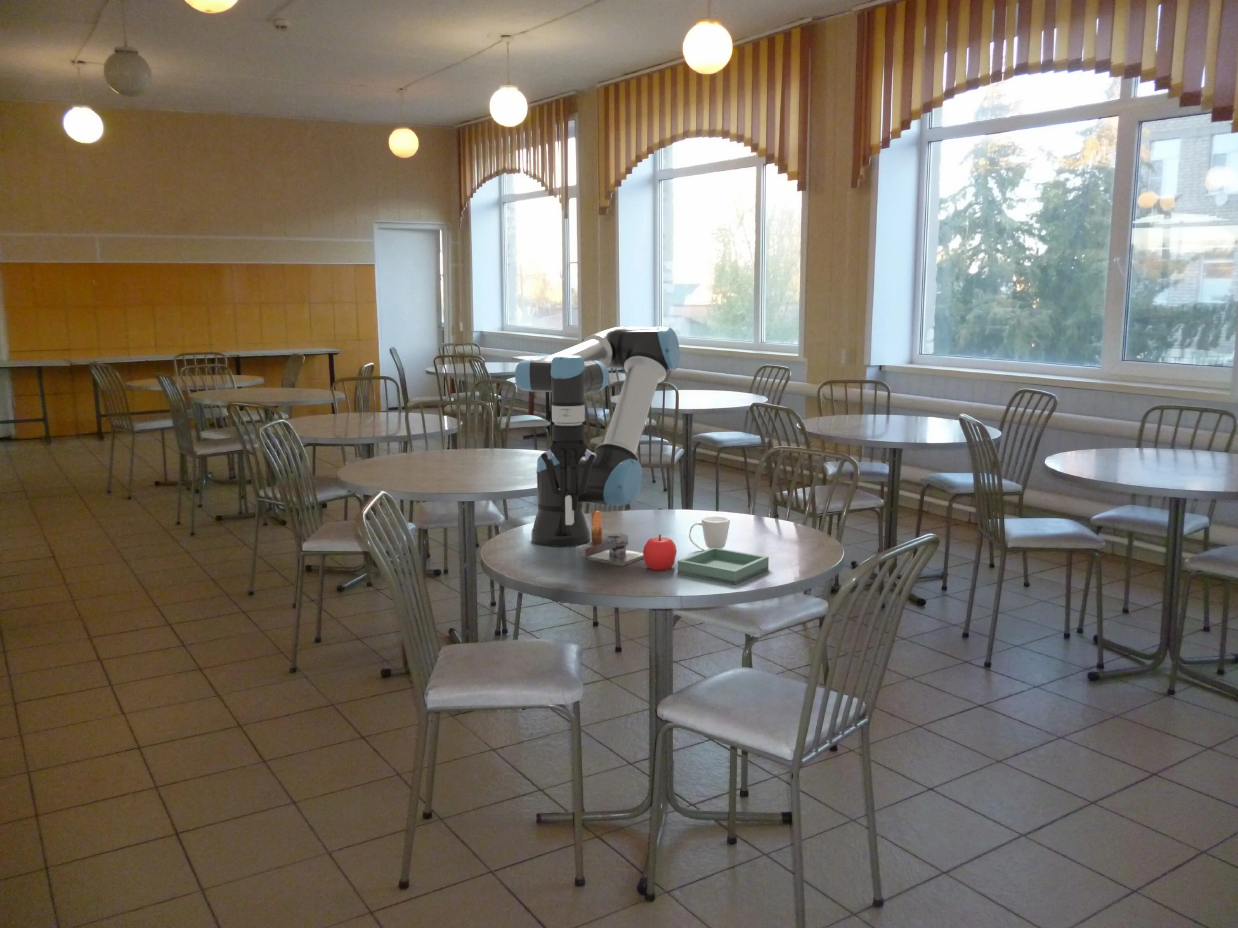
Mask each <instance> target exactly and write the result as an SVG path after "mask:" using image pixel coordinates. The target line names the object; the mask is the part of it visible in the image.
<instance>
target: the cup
mask: <svg viewBox="0 0 1238 928" xmlns="http://www.w3.org/2000/svg"><path fill="white" fill-rule="evenodd" d="M700 521H701V522H694V523H693V524H692V525H691V526H690V528H689V534H688V535H689V536H688V538H689V541H690V542H691V544H693V545H694V546H695V547H696V548H698V549H699V550H701V551H704V550H707V549H710V548H712V547H714V548H720V549H724V548H725V547H726V545H727V541H728V536H729V535H728V533H729V529H730V524H731V519H730V518H729V517H727V516H721V515H720V516H719V515H712V516H711V515H709V516H705V517H703V518H701V520H700ZM696 525H698V526H702V533H703V538H704V539H703V540H704V542H705V547H707V548H703V547H701V546H700V545H698V544H697V543H695V542H694V541H693V540H692V537H691V534H692V533H691V532H692V529H693V528H694V527H695V526H696Z"/></svg>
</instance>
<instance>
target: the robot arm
mask: <svg viewBox="0 0 1238 928" xmlns="http://www.w3.org/2000/svg"><path fill="white" fill-rule="evenodd" d="M680 351H681V350H680V345H679V340H678V335H677V333H676V331H675V330H674V329H673V328H672V327H668V326H660V325H657V326H632V325H631V326H629V325H628V326H627V325H622V326H614V327H611V328H607V329H605V330H601V331H598V332H596V333H593V334H591V335H588V336H586V337H585V338H584V339H583V340H582V342H581V343H580V342H579V343H578V344H575V345H573V346H571V347H567V348H566V349H563V350H560V351H558V352H555V353H554V354H551V355H548V356H545V357H543V358H540V359H536V360H535V359H527V360H525V359H523V360H520V361H519V362H518V363H517V365H516V366H515V369H514V381H515V384H516V386H517V388H518V389H519V390H521V391H523V392H524V391H525V392H531V393H533V392H540V393H541V392H543V393H551V421H552V423H553V424H552V425H551V435H552V436H551V440H552V443H551V445H550V447H549V449H548V450H547V451H544V452H543V453H541V454H540V455H539V456H538V457H537V459H536V460H537V461H536V462H537V463H536V472H535V474H536V484H537V485H536V491H537V493H536V495H537V512H536V516H535V519H534V523H533V526H532V529H531V542H532V543H535V544H537V545H541V546H547V547H548V546H549V547H571V546H577V545H578V546H579V545H584V544H587V542H588V543H589V541H590V540H591V531H590V527H589V526H588V521H587V519H586V516H585V513H584V506H583V505H584V503H587V504H597V505H607V506H612V507H613V506H626V505H627V506H628V505H629V504H631V503H632V502H633V501H634V500H636V498H637V496H638V495H639V492H640V490H641V488H642V484H643V480H642V478H643V473H644V472H643V468H642V465H641V463H640V461H639V460H640V458H639V457H638V454H636V453H637V449H638V447H639V445H640V444H639V443H640V440H641V438H642V434H643V430H644V428H645V424H646V421H647V418H648V416H649V411H650V409H651V407H652V403H653V399H654V396H655V392H656V389H657V388H658V387H657V386H658V384H660V383H661V382H663V381H665V379H666V376H667V374H668V371H670V372H673V371H676V370H677V369H678V367H679V365H680V353H681V352H680ZM608 369H621V370H623V369H624V370H625V373H626V375H625V378H624V381H623V384H622V387H621V391H620V393H619V395H618V399H617V402H616V406H615V408H614V410H613V414H612V417H611V420H610V422H609V425H608V427H607V431H606V435H605V437H604V441H603V443H599V444H597V446H596V447H595V448H594V450H593V451H594V452H592V451H590V450H589V449H588V445H587V443H586V426H585V424H584V422H585V421H586V418H585V417H586V415H585V414H586V413H585V412H586V411H585V409H586V408H585V395H587V394H596V393H598V392H600V391H602V390H604V389H605V388H606V387H607V386H608V383H609V379H610V375H609V374H610V373H609V370H608Z"/></svg>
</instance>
